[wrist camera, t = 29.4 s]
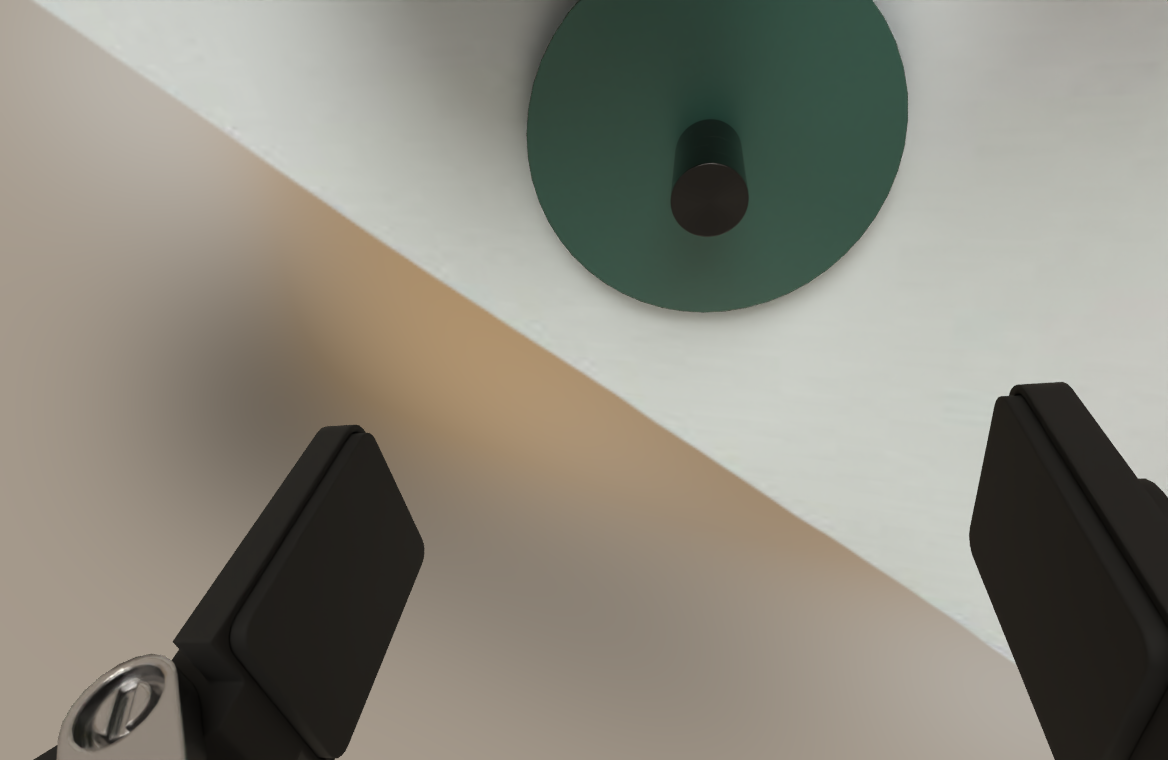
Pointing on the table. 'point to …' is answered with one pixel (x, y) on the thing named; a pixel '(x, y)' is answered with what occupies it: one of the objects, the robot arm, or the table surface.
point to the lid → (715, 142)
